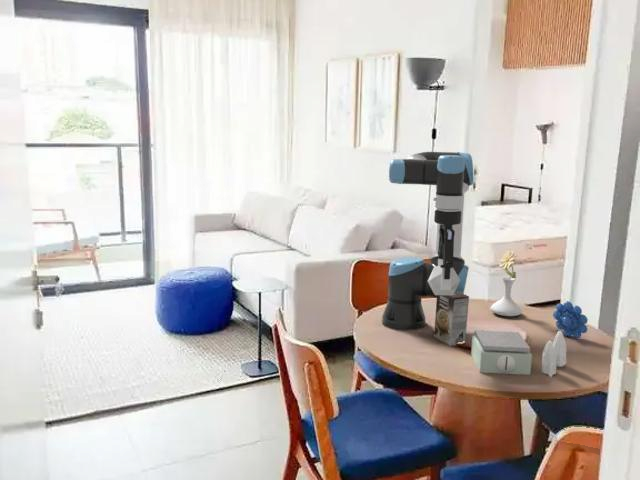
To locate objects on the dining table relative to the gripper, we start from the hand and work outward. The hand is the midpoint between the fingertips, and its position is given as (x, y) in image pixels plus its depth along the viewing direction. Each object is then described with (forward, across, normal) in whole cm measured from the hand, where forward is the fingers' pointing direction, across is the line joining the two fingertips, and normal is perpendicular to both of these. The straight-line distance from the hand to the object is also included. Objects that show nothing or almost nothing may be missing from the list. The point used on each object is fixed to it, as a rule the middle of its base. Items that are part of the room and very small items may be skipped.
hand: (443, 284), depth 174 cm
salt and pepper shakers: (+23, +4, +32) cm, 40 cm away
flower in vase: (+23, -46, +29) cm, 59 cm away
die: (+3, 0, 0) cm, 3 cm away
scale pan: (+16, +2, +17) cm, 24 cm away
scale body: (+23, +2, +17) cm, 29 cm away
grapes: (+23, -24, +45) cm, 56 cm away
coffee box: (+23, -15, +5) cm, 28 cm away
